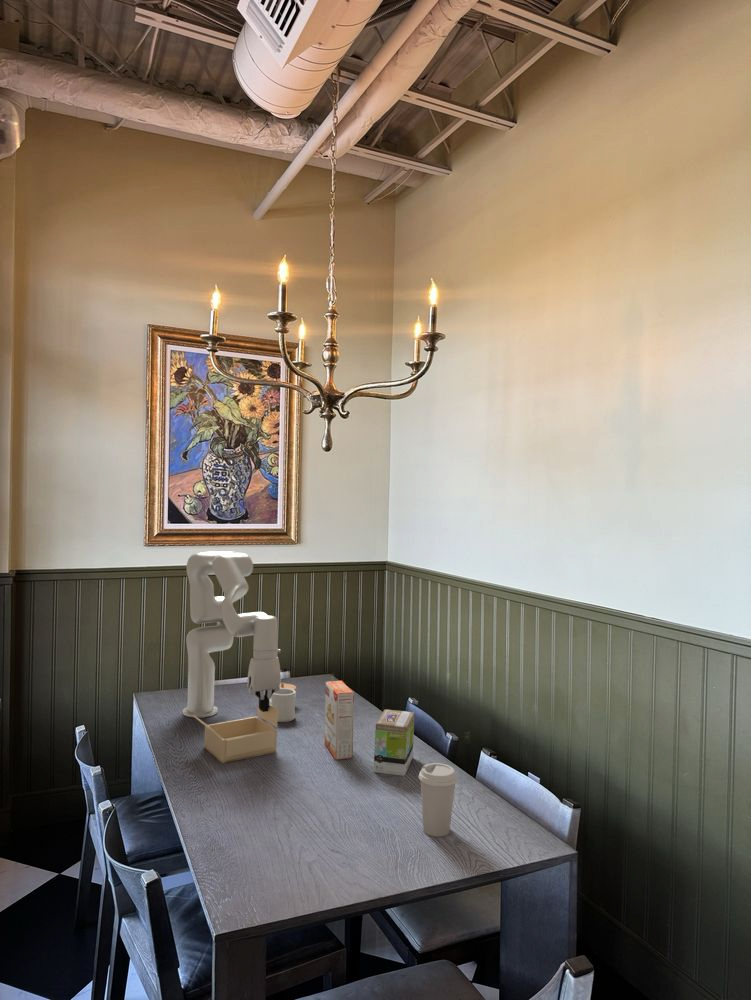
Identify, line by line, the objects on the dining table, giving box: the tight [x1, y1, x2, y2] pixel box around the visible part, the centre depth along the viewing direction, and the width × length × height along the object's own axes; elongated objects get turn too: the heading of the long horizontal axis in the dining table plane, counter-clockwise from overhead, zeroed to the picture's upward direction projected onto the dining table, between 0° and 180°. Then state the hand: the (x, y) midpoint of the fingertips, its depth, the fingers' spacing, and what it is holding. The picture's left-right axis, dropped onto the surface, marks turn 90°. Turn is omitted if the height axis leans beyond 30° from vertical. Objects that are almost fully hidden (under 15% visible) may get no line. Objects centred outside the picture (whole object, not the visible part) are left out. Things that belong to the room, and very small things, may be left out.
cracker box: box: [324, 680, 355, 761], centre depth 215 cm, size 14×6×21 cm, turn 19°
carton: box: [204, 716, 278, 764], centre depth 214 cm, size 16×18×7 cm
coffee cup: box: [418, 762, 458, 838], centre depth 165 cm, size 10×10×15 cm
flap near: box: [193, 715, 222, 738], centre depth 207 cm, size 14×6×1 cm
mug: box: [271, 688, 297, 723], centre depth 245 cm, size 12×9×10 cm
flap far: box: [256, 700, 279, 728], centre depth 219 cm, size 14×6×1 cm
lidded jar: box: [269, 682, 297, 705], centre depth 258 cm, size 11×11×9 cm
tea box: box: [373, 709, 415, 777], centre depth 205 cm, size 15×10×15 cm, turn 168°
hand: (263, 710), depth 218 cm, fingers closed
